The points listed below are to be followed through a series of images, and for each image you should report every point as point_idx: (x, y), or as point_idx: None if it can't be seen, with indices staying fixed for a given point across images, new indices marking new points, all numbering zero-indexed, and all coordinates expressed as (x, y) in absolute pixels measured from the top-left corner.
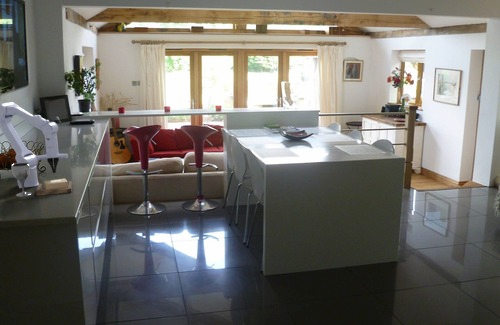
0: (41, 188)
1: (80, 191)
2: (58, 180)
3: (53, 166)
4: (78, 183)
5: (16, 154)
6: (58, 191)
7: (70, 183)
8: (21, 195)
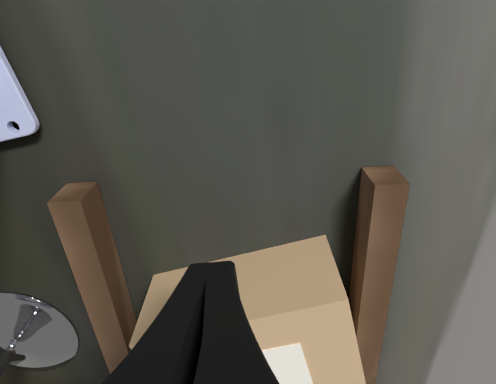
0: (114, 263)
1: (427, 354)
2: (280, 360)
3: (191, 348)
4: (462, 126)
5: None
6: None
7: (382, 267)
8: (22, 366)
